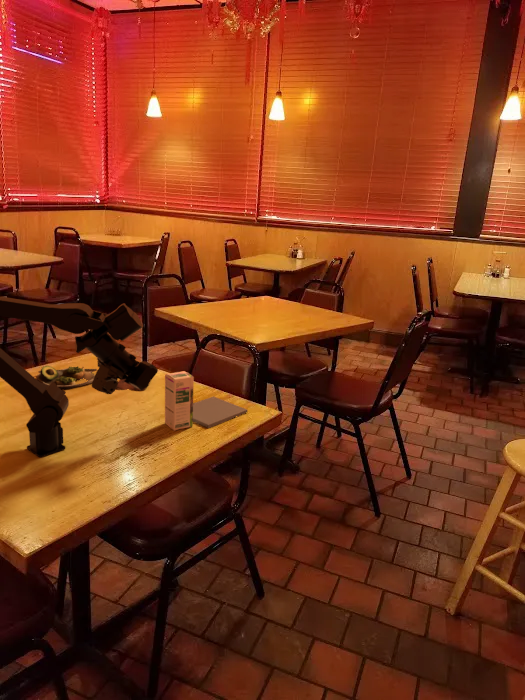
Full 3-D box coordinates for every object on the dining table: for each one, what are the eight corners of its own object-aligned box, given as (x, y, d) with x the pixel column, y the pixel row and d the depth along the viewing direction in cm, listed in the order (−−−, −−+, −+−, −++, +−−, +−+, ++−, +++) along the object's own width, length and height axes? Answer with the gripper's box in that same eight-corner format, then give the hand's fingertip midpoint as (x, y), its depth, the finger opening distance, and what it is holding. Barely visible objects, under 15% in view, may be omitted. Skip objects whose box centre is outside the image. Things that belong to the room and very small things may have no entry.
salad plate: (86, 367, 180) (85, 355, 179) (110, 382, 168) (110, 369, 167) (29, 377, 167) (28, 364, 166) (52, 394, 155) (51, 379, 154)
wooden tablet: (131, 361, 186) (158, 360, 186) (132, 367, 187) (159, 365, 187) (113, 387, 161) (145, 385, 161) (114, 393, 161) (145, 391, 162)
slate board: (208, 428, 138) (208, 424, 138) (173, 412, 147) (174, 409, 146) (247, 412, 150) (247, 409, 150) (213, 399, 159) (213, 396, 158)
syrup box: (173, 431, 135) (174, 379, 131) (164, 423, 140) (164, 372, 136) (192, 427, 138) (194, 376, 134) (182, 419, 143) (184, 369, 139)
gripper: (65, 366, 121) (107, 400, 132) (105, 389, 109) (148, 424, 120) (95, 330, 125) (134, 367, 136) (137, 348, 113) (176, 386, 123)
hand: (146, 386), depth 128 cm, fingers closed
